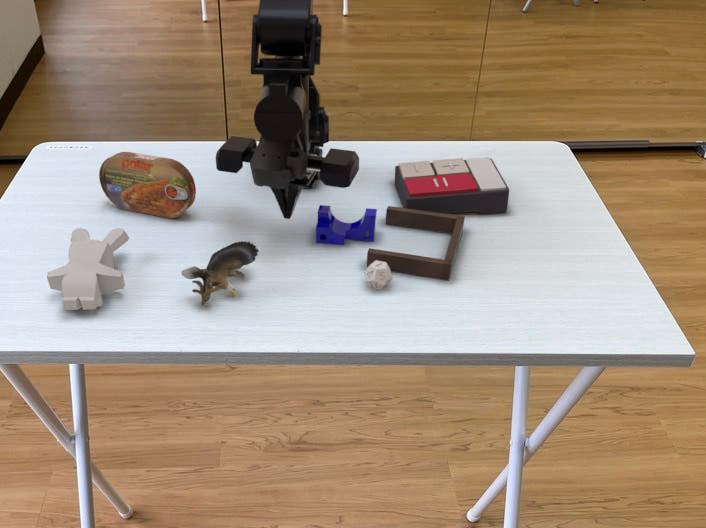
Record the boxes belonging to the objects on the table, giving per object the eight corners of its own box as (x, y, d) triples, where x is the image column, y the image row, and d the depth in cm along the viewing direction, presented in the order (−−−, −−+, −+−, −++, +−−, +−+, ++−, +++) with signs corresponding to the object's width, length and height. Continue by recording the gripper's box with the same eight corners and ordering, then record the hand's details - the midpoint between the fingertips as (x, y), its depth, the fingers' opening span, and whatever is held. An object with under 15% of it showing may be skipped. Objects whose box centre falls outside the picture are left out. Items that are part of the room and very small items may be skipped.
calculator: (394, 160, 119) (491, 152, 119) (393, 186, 122) (488, 178, 122) (406, 194, 111) (511, 185, 111) (405, 221, 114) (507, 212, 114)
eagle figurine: (241, 310, 95) (272, 262, 100) (204, 266, 91) (238, 219, 96) (201, 321, 100) (233, 275, 105) (166, 280, 97) (200, 235, 102)
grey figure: (35, 290, 94) (61, 215, 104) (46, 321, 97) (70, 246, 107) (113, 290, 93) (132, 215, 103) (121, 321, 97) (138, 246, 107)
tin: (103, 205, 118) (93, 153, 112) (114, 196, 120) (104, 144, 114) (191, 223, 113) (185, 169, 108) (201, 213, 115) (196, 160, 110)
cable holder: (315, 242, 109) (316, 217, 106) (319, 230, 111) (319, 205, 109) (372, 247, 108) (374, 221, 105) (375, 234, 110) (376, 209, 107)
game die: (397, 286, 100) (399, 266, 98) (374, 295, 99) (375, 275, 97) (380, 274, 103) (382, 254, 101) (357, 282, 101) (359, 263, 99)
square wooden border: (366, 267, 104) (367, 251, 102) (386, 221, 113) (388, 205, 111) (448, 280, 101) (451, 264, 99) (462, 231, 110) (465, 216, 109)
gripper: (194, 125, 96) (205, 236, 107) (340, 143, 92) (336, 256, 102) (227, 93, 104) (234, 198, 114) (362, 108, 100) (357, 216, 110)
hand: (288, 217), depth 110 cm, fingers closed
